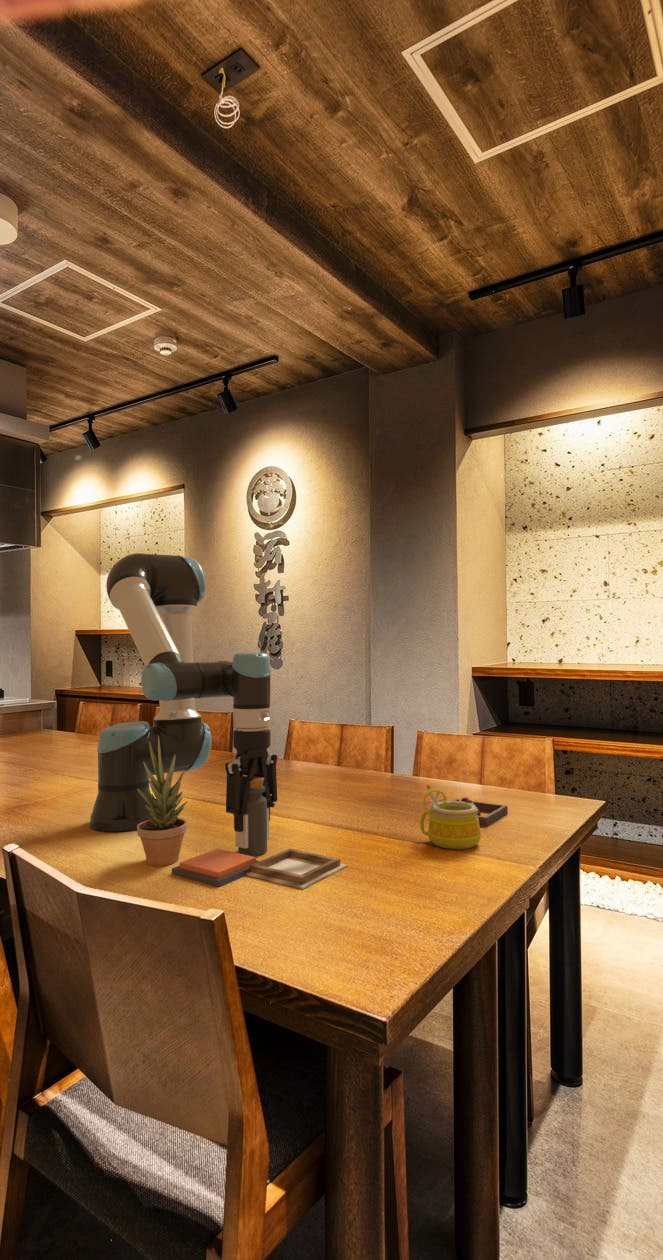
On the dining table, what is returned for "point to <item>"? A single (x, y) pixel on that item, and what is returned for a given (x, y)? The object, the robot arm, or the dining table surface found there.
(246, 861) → the ink pad
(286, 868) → the frame
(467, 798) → the pastry
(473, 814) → the mug
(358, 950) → the dining table surface
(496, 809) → the pastry tray
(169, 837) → the potted plant
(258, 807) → the cork-lidded jar
